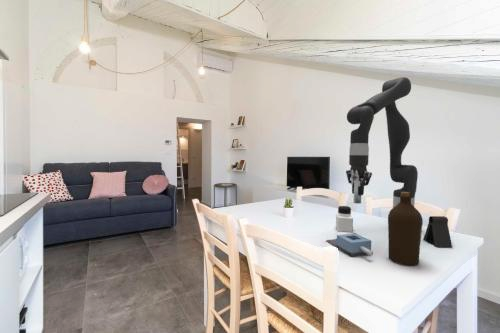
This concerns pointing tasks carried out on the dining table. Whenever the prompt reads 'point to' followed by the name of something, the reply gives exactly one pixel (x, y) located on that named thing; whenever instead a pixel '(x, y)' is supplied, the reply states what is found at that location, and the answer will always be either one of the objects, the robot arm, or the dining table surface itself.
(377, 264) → the dining table surface
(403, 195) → the olive oil
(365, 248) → the block
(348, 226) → the medicine bottle
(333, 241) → the rubber pad
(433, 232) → the black folding stand
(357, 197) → the chuck key
